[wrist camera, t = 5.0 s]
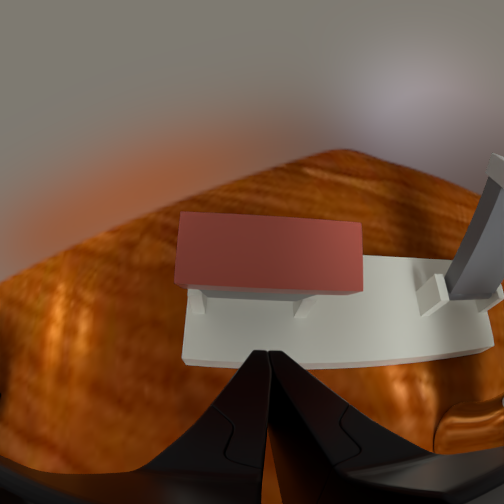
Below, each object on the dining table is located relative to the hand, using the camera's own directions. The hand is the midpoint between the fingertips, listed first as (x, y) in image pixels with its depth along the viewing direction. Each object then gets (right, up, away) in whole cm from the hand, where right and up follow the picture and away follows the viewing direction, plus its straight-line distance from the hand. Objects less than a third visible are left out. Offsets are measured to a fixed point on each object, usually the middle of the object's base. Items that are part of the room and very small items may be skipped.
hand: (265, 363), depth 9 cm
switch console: (+7, -1, +14) cm, 15 cm away
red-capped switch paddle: (0, +1, +10) cm, 10 cm away
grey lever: (+16, 0, +10) cm, 19 cm away
